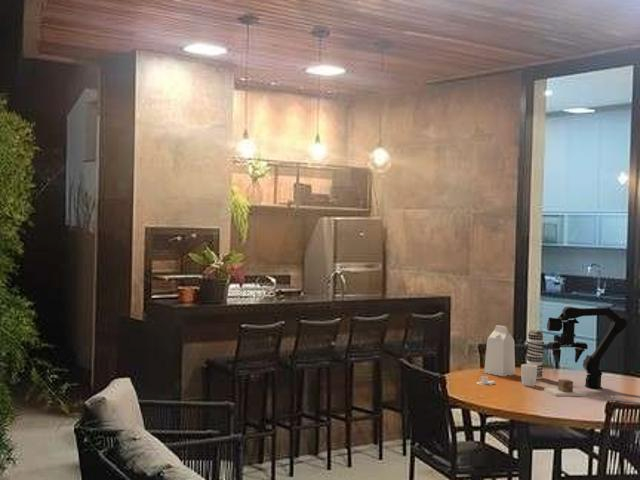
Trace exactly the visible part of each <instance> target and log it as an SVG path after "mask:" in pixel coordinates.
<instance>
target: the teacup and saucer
mask: <svg viewBox="0 0 640 480" xmlns="http://www.w3.org/2000/svg"><path fill="white" fill-rule="evenodd" d="M480 378H481V379H480ZM478 379H479V381H477V382H476V384H477V385H480V386H483V385H489V386H492V385H494V384H495V383H496V381H495V380H489V377H488V376H487V375H481V376H480V377H479V378H478Z"/></svg>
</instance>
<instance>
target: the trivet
mask: <svg viewBox="0 0 640 480" xmlns="http://www.w3.org/2000/svg"><path fill="white" fill-rule="evenodd" d="M544 392H546V393H548V394H550V395H552V396H555V397H587V396H588V393H587V392H585V391H583V390H580V389H578V388H575V387H573V392H562V391H560V390H558V387H557V388H555V387H554V388H553V387H549V388H548V387H546V388H544Z"/></svg>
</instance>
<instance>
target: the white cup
mask: <svg viewBox="0 0 640 480" xmlns="http://www.w3.org/2000/svg"><path fill="white" fill-rule="evenodd" d="M520 371H521V375H520V376H521V377H520V378H521V385H522V386H525V387H535V386H536V382H537V379H536V376H537V365H532V364H527V363H523V364H521V365H520Z"/></svg>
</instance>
